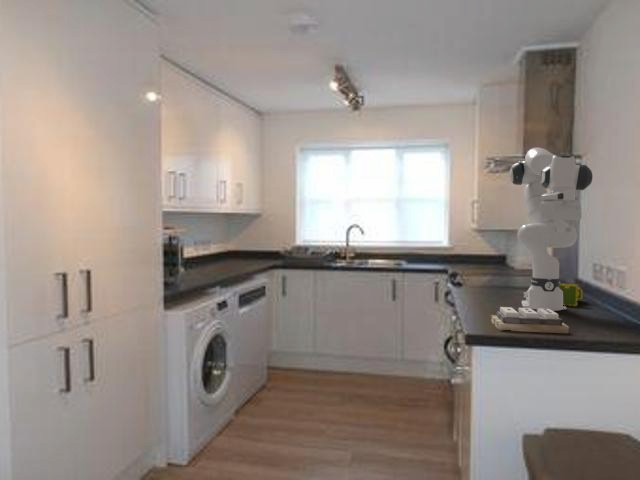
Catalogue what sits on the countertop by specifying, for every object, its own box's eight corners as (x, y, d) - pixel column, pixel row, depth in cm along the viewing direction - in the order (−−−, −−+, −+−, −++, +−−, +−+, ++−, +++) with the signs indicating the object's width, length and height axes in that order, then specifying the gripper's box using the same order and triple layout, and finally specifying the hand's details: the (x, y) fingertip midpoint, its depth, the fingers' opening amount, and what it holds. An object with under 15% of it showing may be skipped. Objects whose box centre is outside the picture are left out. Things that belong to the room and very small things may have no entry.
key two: (518, 312, 194) (518, 307, 194) (530, 313, 193) (530, 307, 193) (525, 318, 183) (525, 312, 183) (538, 319, 182) (538, 313, 182)
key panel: (490, 321, 198) (491, 310, 198) (554, 323, 194) (554, 312, 194) (499, 330, 182) (499, 318, 182) (568, 333, 179) (568, 321, 178)
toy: (573, 281, 262) (586, 285, 233) (573, 301, 261) (586, 307, 233) (539, 280, 266) (547, 283, 238) (538, 299, 266) (547, 304, 237)
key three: (537, 313, 193) (537, 307, 193) (549, 313, 192) (549, 308, 192) (545, 319, 182) (545, 313, 182) (558, 319, 181) (558, 313, 181)
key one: (499, 312, 195) (499, 306, 195) (511, 312, 194) (511, 306, 194) (505, 317, 184) (506, 311, 184) (518, 318, 183) (518, 312, 183)
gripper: (571, 197, 198) (570, 232, 199) (538, 195, 188) (537, 231, 189) (586, 197, 193) (585, 232, 193) (553, 194, 183) (552, 232, 183)
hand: (561, 232), depth 191 cm, fingers open, 8 cm apart
